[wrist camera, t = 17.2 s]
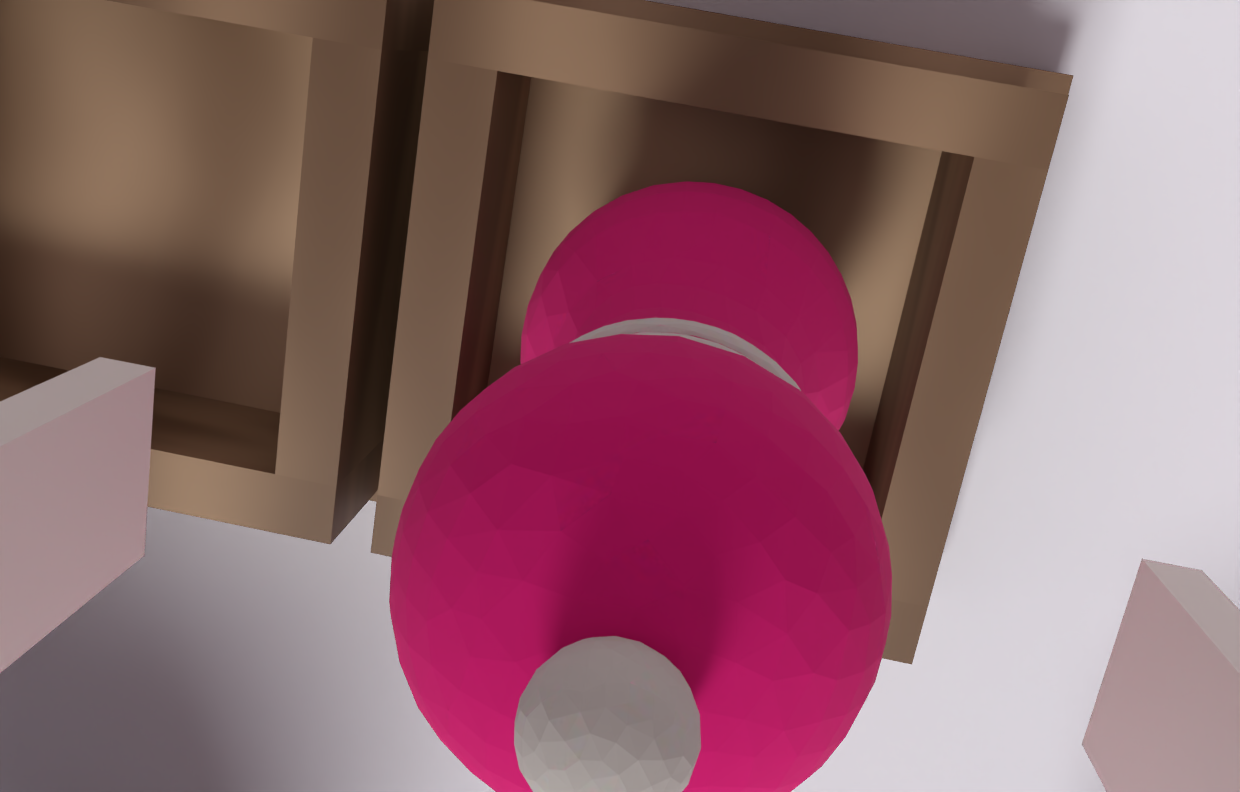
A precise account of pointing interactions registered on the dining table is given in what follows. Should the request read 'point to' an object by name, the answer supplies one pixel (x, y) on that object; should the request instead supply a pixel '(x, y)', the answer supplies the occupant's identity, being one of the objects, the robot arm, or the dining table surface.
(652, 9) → the wooden divided tray
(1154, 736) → the robot arm
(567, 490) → the pepper mill
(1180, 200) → the dining table surface
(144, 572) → the dining table surface
